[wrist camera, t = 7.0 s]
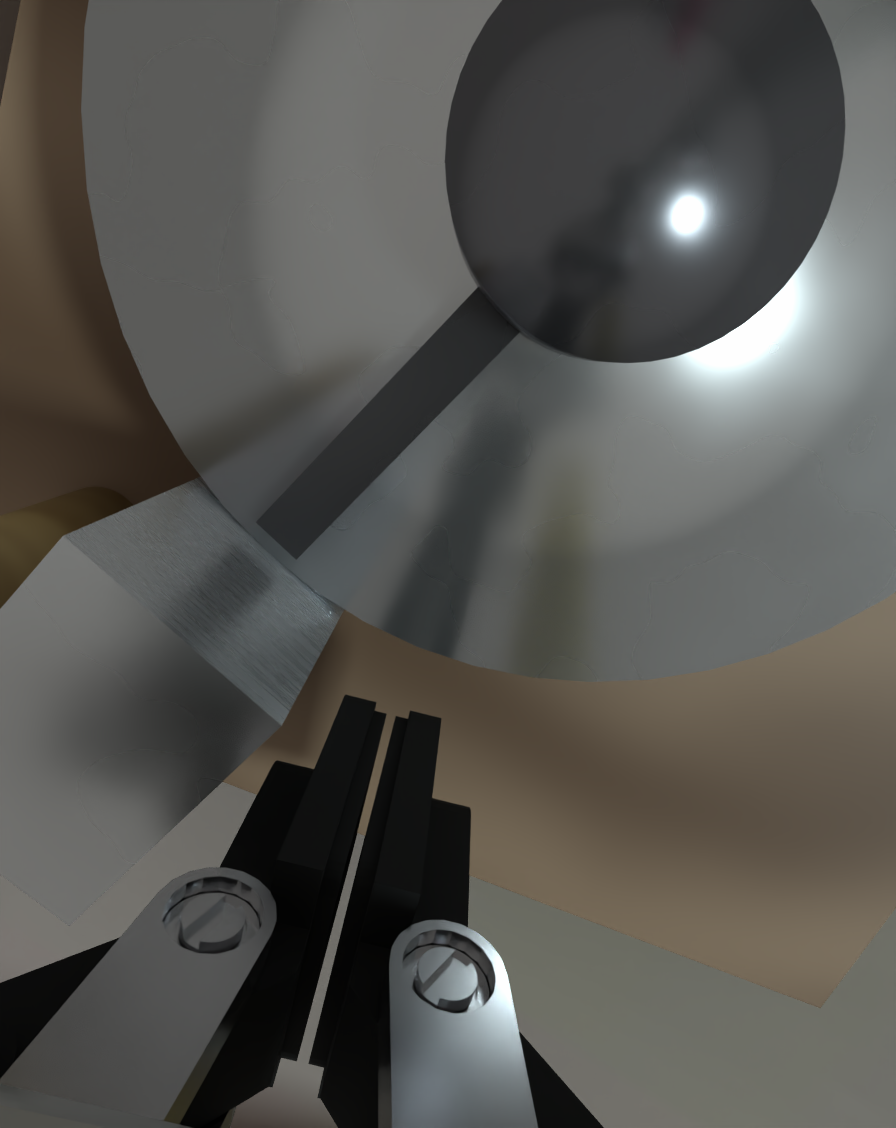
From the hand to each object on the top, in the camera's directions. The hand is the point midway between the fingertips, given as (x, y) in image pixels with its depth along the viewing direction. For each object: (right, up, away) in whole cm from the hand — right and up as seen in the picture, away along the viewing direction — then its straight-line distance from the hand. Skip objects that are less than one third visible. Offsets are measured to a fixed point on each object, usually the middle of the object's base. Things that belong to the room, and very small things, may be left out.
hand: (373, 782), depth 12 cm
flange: (+2, +8, -1) cm, 8 cm away
